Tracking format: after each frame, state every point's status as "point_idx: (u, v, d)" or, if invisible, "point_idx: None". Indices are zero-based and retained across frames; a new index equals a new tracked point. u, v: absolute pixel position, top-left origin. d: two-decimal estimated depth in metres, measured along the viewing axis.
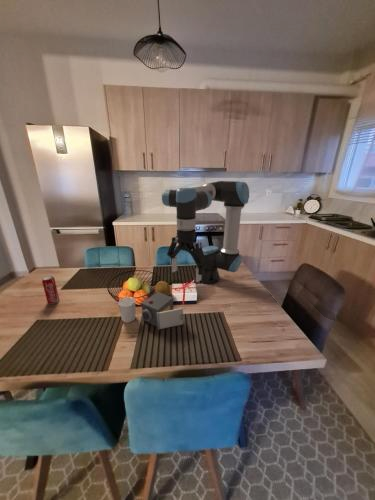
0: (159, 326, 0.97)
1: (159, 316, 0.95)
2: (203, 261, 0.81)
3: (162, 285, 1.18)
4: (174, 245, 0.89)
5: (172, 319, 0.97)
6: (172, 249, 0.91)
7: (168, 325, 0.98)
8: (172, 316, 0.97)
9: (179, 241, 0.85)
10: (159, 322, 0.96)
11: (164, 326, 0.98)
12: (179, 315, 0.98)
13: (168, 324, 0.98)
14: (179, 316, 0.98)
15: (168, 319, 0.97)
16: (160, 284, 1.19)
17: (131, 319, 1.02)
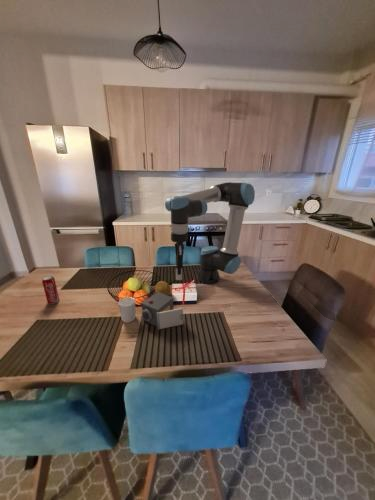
0: (159, 326, 0.97)
1: (159, 316, 0.95)
2: (178, 265, 0.93)
3: (162, 285, 1.18)
4: None
5: (172, 319, 0.97)
6: None
7: (168, 325, 0.98)
8: (172, 316, 0.97)
9: (176, 242, 0.97)
10: (159, 322, 0.96)
11: (164, 326, 0.98)
12: (179, 315, 0.98)
13: (168, 324, 0.98)
14: (179, 316, 0.98)
15: (168, 319, 0.97)
16: (160, 284, 1.19)
17: (131, 319, 1.02)
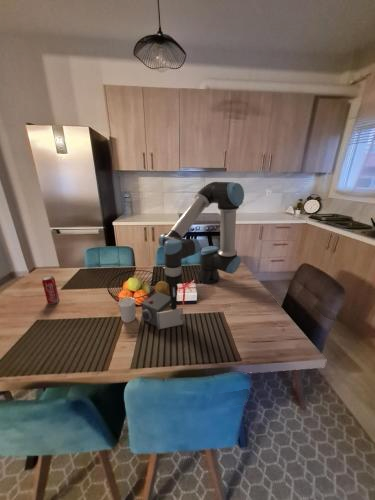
0: (159, 326, 0.97)
1: (159, 316, 0.95)
2: (172, 305, 0.95)
3: (162, 285, 1.18)
4: None
5: (172, 319, 0.97)
6: None
7: (168, 325, 0.98)
8: (172, 316, 0.97)
9: None
10: (159, 322, 0.96)
11: (164, 326, 0.98)
12: (179, 315, 0.98)
13: (168, 324, 0.98)
14: (179, 316, 0.98)
15: (168, 319, 0.97)
16: (160, 284, 1.19)
17: (131, 319, 1.02)
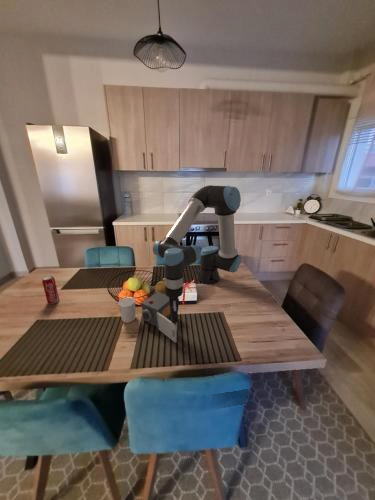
0: (158, 326, 0.96)
1: (158, 317, 0.94)
2: (173, 319, 0.87)
3: (162, 285, 1.18)
4: None
5: (166, 328, 0.92)
6: None
7: (164, 332, 0.94)
8: (167, 326, 0.91)
9: None
10: (158, 322, 0.96)
11: (161, 330, 0.95)
12: (172, 330, 0.89)
13: (164, 331, 0.94)
14: (172, 331, 0.89)
15: (164, 326, 0.93)
16: (160, 284, 1.19)
17: (131, 319, 1.02)
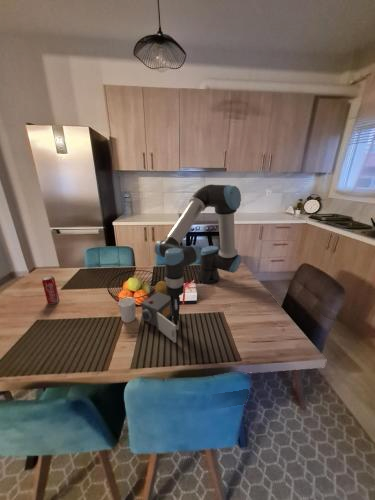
0: (158, 326, 0.96)
1: (158, 317, 0.94)
2: (175, 318, 0.89)
3: (162, 285, 1.18)
4: None
5: (166, 328, 0.92)
6: None
7: (164, 332, 0.94)
8: (166, 326, 0.91)
9: None
10: (158, 322, 0.96)
11: (161, 330, 0.95)
12: (171, 330, 0.89)
13: (164, 331, 0.94)
14: (171, 331, 0.89)
15: (164, 326, 0.93)
16: (160, 284, 1.19)
17: (131, 319, 1.02)
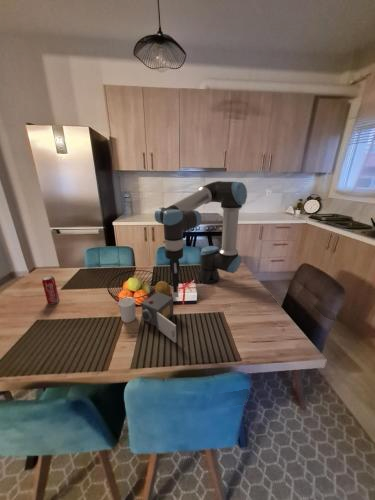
0: (158, 326, 0.96)
1: (158, 317, 0.94)
2: (174, 283, 0.87)
3: (162, 285, 1.18)
4: None
5: (166, 328, 0.92)
6: None
7: (164, 332, 0.94)
8: (166, 326, 0.91)
9: None
10: (158, 322, 0.96)
11: (161, 330, 0.95)
12: (171, 330, 0.89)
13: (164, 331, 0.94)
14: (171, 331, 0.89)
15: (164, 326, 0.93)
16: (160, 284, 1.19)
17: (131, 319, 1.02)
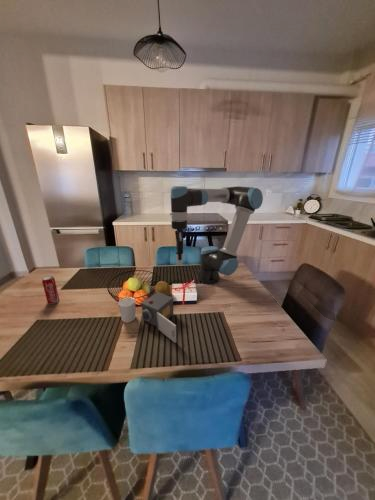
0: (158, 326, 0.96)
1: (158, 317, 0.94)
2: (179, 250, 1.00)
3: (162, 285, 1.18)
4: None
5: (166, 328, 0.92)
6: None
7: (164, 332, 0.94)
8: (166, 326, 0.91)
9: None
10: (158, 322, 0.96)
11: (161, 330, 0.95)
12: (171, 330, 0.89)
13: (164, 331, 0.94)
14: (171, 331, 0.89)
15: (164, 326, 0.93)
16: (160, 284, 1.19)
17: (131, 319, 1.02)
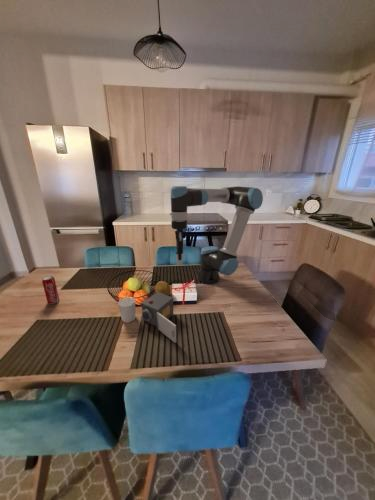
0: (158, 326, 0.96)
1: (158, 317, 0.94)
2: (179, 250, 1.00)
3: (162, 285, 1.18)
4: None
5: (166, 328, 0.92)
6: None
7: (164, 332, 0.94)
8: (166, 326, 0.91)
9: (176, 229, 1.04)
10: (158, 322, 0.96)
11: (161, 330, 0.95)
12: (171, 330, 0.89)
13: (164, 331, 0.94)
14: (171, 331, 0.89)
15: (164, 326, 0.93)
16: (160, 284, 1.19)
17: (131, 319, 1.02)
